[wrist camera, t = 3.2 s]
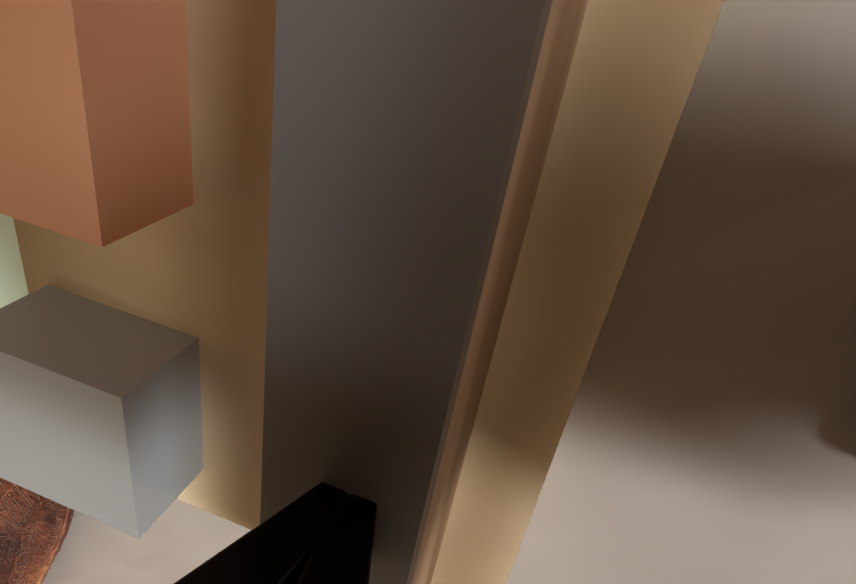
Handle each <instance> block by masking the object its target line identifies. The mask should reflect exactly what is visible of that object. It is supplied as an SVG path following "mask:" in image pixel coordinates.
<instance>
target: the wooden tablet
mask: <svg viewBox="0 0 856 584" xmlns="http://www.w3.org/2000/svg"><path fill="white" fill-rule="evenodd" d="M73 514H74V510H73V509H71V508H68V507H66V506H64V505H61V504H59V503H57V502H55V501H52V500H50V499H48V498H46V497H43V496H41V495H39V494H37V493H34V492H32V491H30V490H28V489H25V488H23V487H21V486H18V485H16V484H14V483H12V482H9V481H7V480H5V479H3V478H0V584H42V582H43V580H44V578H45V577H46V575H47V572H48V570H49V568H50V566H51V564H52V563H53V561H54V559H55V557H56V555H57V553H58V552H59V551H60V548H61V545H62V543H63V541H64V539H65V537H66V535H67V533H68V530H69V527H70V524H71V520H72V518H73Z"/></svg>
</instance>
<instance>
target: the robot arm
mask: <svg viewBox="0 0 856 584" xmlns="http://www.w3.org/2000/svg"><path fill="white" fill-rule="evenodd" d="M376 515H377V505H376V504H375V503H374V502H372V501H370V500H367V499H365V498H362V497H359V496H357V495H354V494H349V495H348V496H347V493H346V492H345V491H344V490H341V489H339V488H336V487H334V486H331V485H329V484H326V483H323V482H321V483H319V484H318V485H316V486H315V487H313V488H312V489H311V490H309V491H308V492H306V493H305V494H303V495H302V496H300V497H299V498H298V499H296V500H295V501H293V502H292V503H290V504H289V505H287V506H286V507H284V508H283V509H282V510H280V511H279V512H277V513H276V514H274V515H273V516H271V517H270V518H268V519H267V520H266V521H264V522H263V523H261V524H260V525H258V526H257V527H255V528H254V529H253V530H251V531H250V532H248V533H247V534H245V535H244V536H242V537H241V538H239V539H238V540H237V541H235V542H234V543H232V544H231V545H229V546H228V547H226V548H225V549H224V550H222V551H221V552H219V553H218V554H216V555H215V556H213V557H212V558H210V559H209V560H208V561H206V562H205V563H203V564H202V565H200V566H199V567H197V568H196V569H194V570H193V571H192V572H190V573H189V574H187V575H186V576H184V577H183V578H181V579H180V580H179V581H177V582H176V583H174V584H370V581H371V570H372V559H373V548H374V537H375V526H376Z"/></svg>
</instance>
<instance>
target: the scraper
mask: <svg viewBox="0 0 856 584" xmlns="http://www.w3.org/2000/svg"><path fill="white" fill-rule="evenodd" d="M587 4H588V0H276V31H275V63H274V95H273V127H272V159H271V191H270V223H269V255H268V287H267V319H266V351H265V383H264V415H263V447H262V479H261V511H260V524H261V523H263V522H264V521H266V520H267V519H268V518H270V517H271V516H273V515H274V514H276V513H277V512H279V511H280V510H282V509H283V508H284V507H286V506H287V505H289V504H290V503H292V502H293V501H295V500H296V499H298V498H299V497H300V496H302V495H303V494H305V493H306V492H308V491H309V490H311V489H312V488H313V487H315V486H316V485H318V484H319V483H321V482H323V483H326V484H329V485H331V486H334V487H336V488H339V489H341V490H344V491H345V492H346V493H347V496H348V495H349V494H354V495H357V496H359V497H362V498H365V499H367V500H370V501H372V502H374V503H375V504H376V505H377V515H376V526H375V537H374V548H373V559H372V570H371V581H370V584H431V581H432V577H433V573H434V570H435V566H436V562H437V559H438V555H439V551H440V548H441V544H442V540H443V536H444V533H445V529H446V525H447V522H448V518H449V514H450V511H451V507H452V503H453V499H454V496H455V492H456V488H457V485H458V481H459V477H460V474H461V470H462V466H463V462H464V459H465V455H466V451H467V448H468V444H469V440H470V437H471V433H472V429H473V425H474V422H475V418H476V414H477V411H478V407H479V403H480V400H481V396H482V392H483V388H484V385H485V381H486V377H487V374H488V370H489V366H490V363H491V359H492V355H493V351H494V348H495V344H496V340H497V337H498V333H499V329H500V326H501V322H502V318H503V314H504V311H505V307H506V303H507V300H508V296H509V292H510V289H511V285H512V281H513V277H514V274H515V270H516V266H517V263H518V259H519V255H520V252H521V248H522V244H523V240H524V237H525V233H526V229H527V226H528V222H529V218H530V215H531V211H532V207H533V203H534V200H535V196H536V192H537V189H538V185H539V181H540V178H541V174H542V170H543V166H544V163H545V159H546V155H547V152H548V148H549V144H550V141H551V137H552V133H553V129H554V126H555V122H556V118H557V115H558V111H559V107H560V104H561V100H562V96H563V92H564V89H565V85H566V81H567V78H568V74H569V70H570V67H571V63H572V59H573V55H574V52H575V48H576V44H577V41H578V37H579V33H580V30H581V26H582V22H583V18H584V15H585V11H586V7H587Z"/></svg>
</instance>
